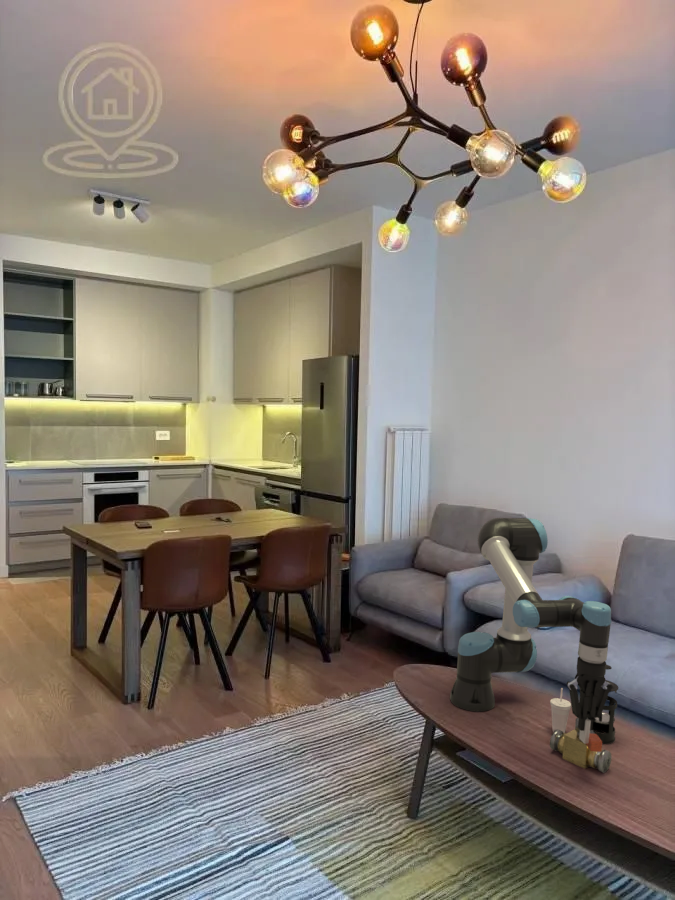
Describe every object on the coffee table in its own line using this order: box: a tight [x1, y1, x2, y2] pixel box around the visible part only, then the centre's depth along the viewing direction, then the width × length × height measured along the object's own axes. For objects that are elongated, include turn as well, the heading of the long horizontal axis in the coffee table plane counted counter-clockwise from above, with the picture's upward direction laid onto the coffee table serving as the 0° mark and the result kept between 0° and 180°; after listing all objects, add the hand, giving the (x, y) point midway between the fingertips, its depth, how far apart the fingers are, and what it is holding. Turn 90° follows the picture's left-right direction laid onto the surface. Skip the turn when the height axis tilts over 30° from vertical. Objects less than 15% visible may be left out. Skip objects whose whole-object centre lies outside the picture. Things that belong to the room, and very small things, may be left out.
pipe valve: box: [549, 728, 612, 774], centre depth 196 cm, size 16×6×9 cm, turn 42°
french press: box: [592, 664, 619, 745], centre depth 212 cm, size 12×9×23 cm
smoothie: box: [549, 687, 572, 733], centre depth 213 cm, size 6×6×14 cm
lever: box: [574, 717, 603, 752], centre depth 191 cm, size 13×4×3 cm, turn 179°
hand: (583, 740), depth 188 cm, fingers closed
